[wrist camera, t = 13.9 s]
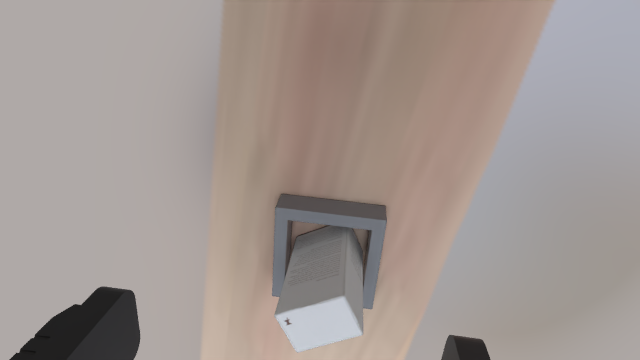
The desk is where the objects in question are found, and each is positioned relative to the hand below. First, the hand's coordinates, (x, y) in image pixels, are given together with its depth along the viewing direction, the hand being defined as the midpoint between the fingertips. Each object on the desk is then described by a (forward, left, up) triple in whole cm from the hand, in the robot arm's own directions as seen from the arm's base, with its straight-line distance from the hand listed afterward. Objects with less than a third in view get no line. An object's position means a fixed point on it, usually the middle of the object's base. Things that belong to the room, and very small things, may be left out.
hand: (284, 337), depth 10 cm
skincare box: (+15, 0, -28) cm, 32 cm away
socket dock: (+15, 0, -28) cm, 32 cm away
